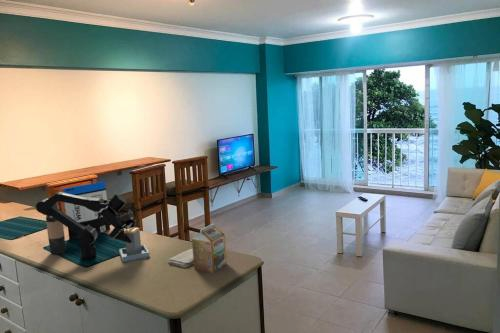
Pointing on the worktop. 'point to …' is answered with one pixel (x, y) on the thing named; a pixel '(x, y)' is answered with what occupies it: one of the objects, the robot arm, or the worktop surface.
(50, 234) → the travel mug
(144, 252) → the tray
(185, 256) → the washcloth
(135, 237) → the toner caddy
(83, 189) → the protein powder
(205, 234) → the milk carton
